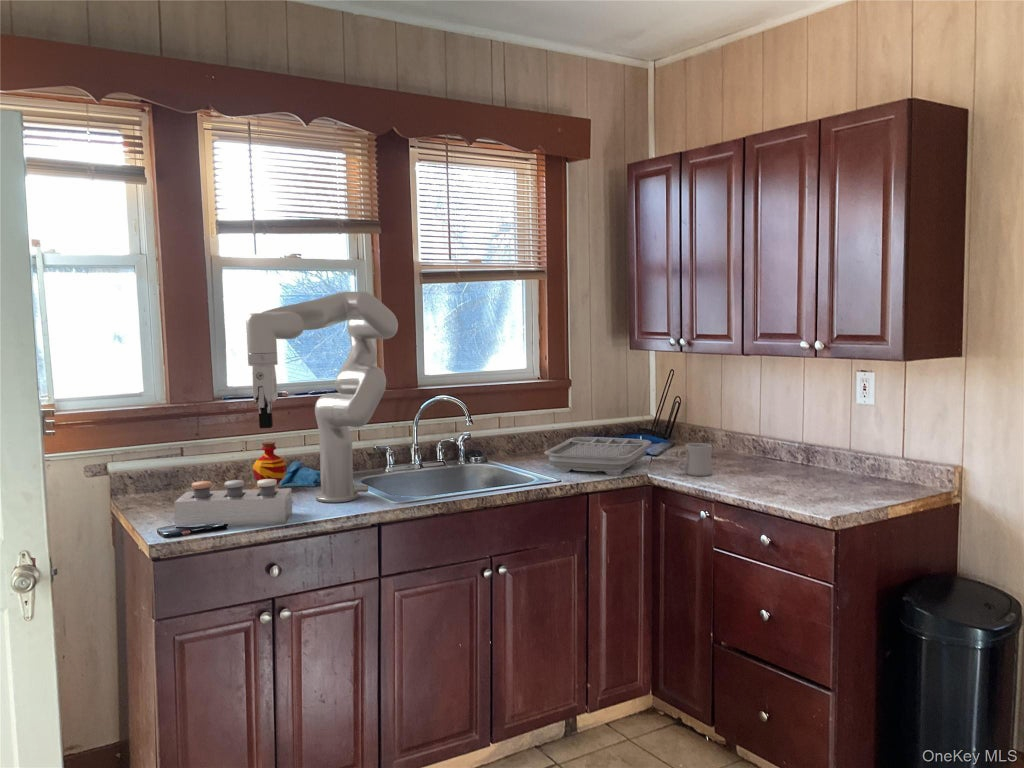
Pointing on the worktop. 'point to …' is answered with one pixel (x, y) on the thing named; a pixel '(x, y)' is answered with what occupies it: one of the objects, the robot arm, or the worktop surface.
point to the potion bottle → (269, 464)
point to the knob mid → (234, 488)
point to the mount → (234, 508)
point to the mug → (697, 459)
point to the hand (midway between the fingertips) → (266, 427)
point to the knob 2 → (267, 487)
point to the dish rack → (597, 454)
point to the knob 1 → (202, 489)
